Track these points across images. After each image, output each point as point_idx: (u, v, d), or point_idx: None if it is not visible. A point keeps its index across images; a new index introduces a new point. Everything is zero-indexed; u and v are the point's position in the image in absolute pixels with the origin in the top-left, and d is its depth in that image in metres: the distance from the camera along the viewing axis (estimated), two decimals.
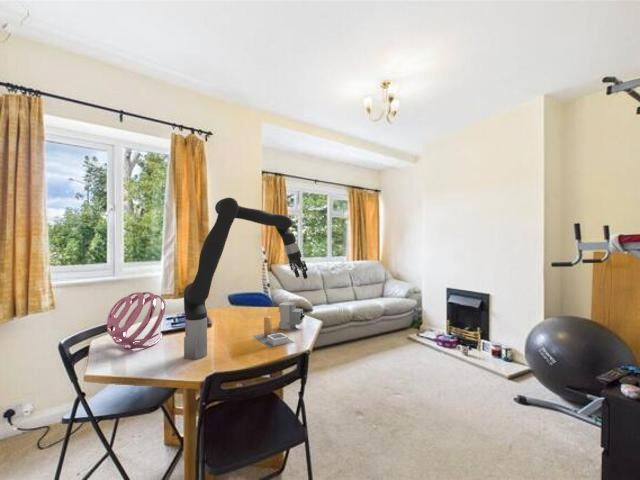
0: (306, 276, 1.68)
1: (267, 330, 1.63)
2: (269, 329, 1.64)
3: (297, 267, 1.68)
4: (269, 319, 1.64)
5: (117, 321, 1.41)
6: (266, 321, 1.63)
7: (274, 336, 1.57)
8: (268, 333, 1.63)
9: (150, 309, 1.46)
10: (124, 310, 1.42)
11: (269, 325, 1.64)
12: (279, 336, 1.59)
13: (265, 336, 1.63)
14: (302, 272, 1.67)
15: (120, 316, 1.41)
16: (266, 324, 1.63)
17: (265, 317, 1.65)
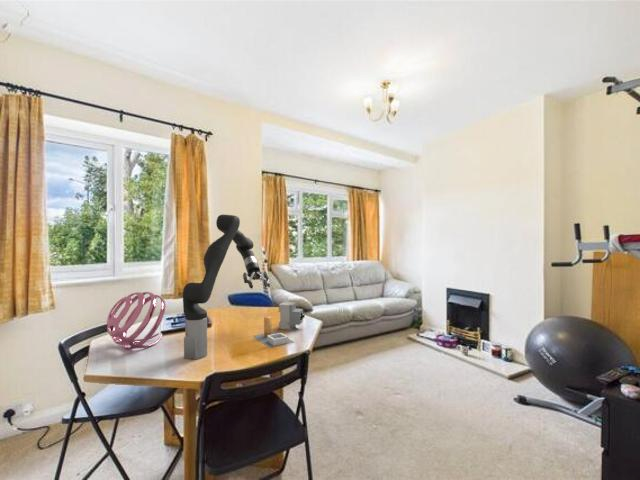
0: (267, 284, 1.78)
1: (267, 330, 1.63)
2: (269, 329, 1.64)
3: (260, 275, 1.79)
4: (269, 319, 1.64)
5: (117, 321, 1.41)
6: (266, 321, 1.63)
7: (274, 336, 1.57)
8: (268, 333, 1.63)
9: (150, 309, 1.46)
10: (124, 310, 1.42)
11: (269, 325, 1.64)
12: (279, 336, 1.59)
13: (265, 336, 1.63)
14: (265, 279, 1.79)
15: (120, 316, 1.41)
16: (266, 324, 1.63)
17: (265, 317, 1.65)
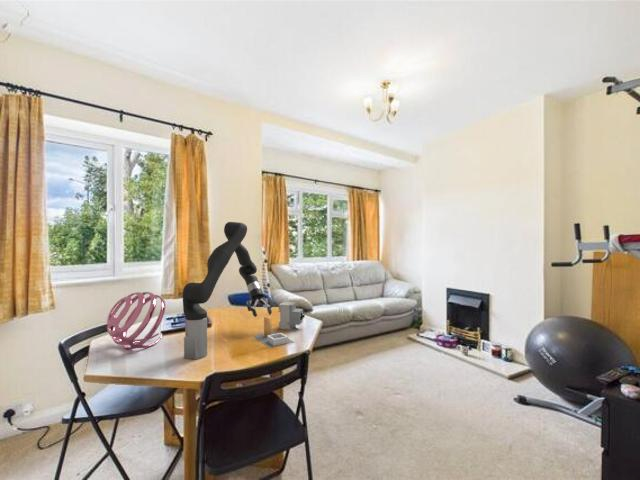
0: None
1: (267, 330, 1.63)
2: (269, 329, 1.64)
3: (264, 302, 1.74)
4: (269, 319, 1.64)
5: (117, 321, 1.41)
6: (266, 321, 1.63)
7: (274, 336, 1.57)
8: (268, 333, 1.63)
9: (150, 309, 1.46)
10: (124, 310, 1.42)
11: (269, 325, 1.64)
12: (279, 336, 1.59)
13: (265, 336, 1.63)
14: (269, 306, 1.74)
15: (120, 316, 1.41)
16: (266, 324, 1.63)
17: (265, 317, 1.65)
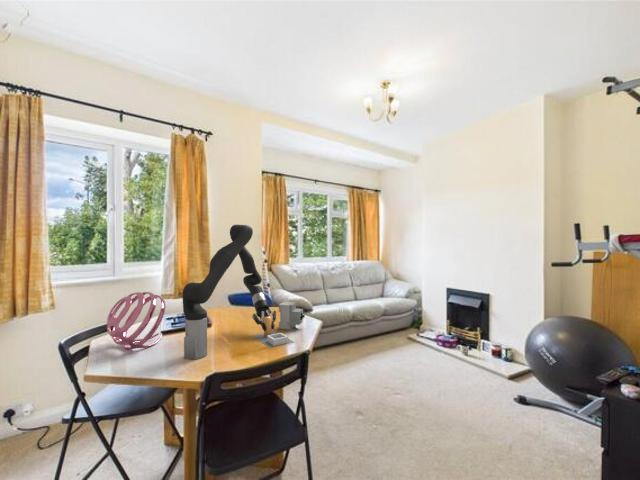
0: (274, 326, 1.66)
1: (267, 330, 1.63)
2: (269, 329, 1.64)
3: (268, 314, 1.68)
4: (269, 319, 1.64)
5: (117, 321, 1.41)
6: (266, 321, 1.63)
7: (274, 336, 1.57)
8: (268, 333, 1.63)
9: (150, 309, 1.46)
10: (124, 310, 1.42)
11: (269, 325, 1.64)
12: (279, 336, 1.59)
13: (265, 336, 1.63)
14: (272, 320, 1.67)
15: (120, 316, 1.41)
16: (266, 324, 1.63)
17: (265, 317, 1.65)
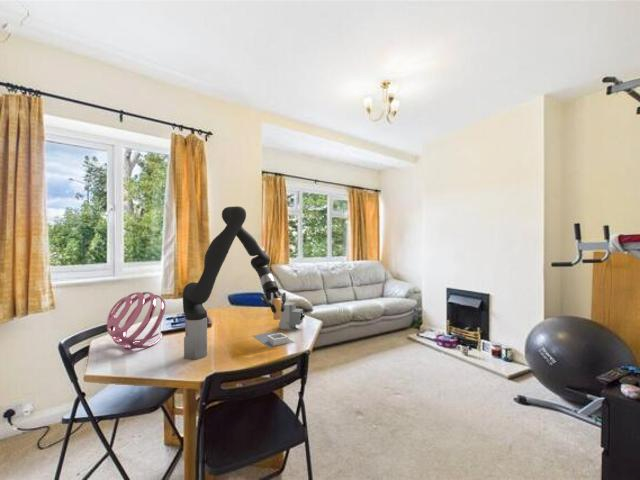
0: None
1: (277, 312, 1.53)
2: (279, 311, 1.54)
3: (277, 296, 1.58)
4: (279, 301, 1.54)
5: (117, 321, 1.41)
6: (276, 303, 1.53)
7: (274, 336, 1.57)
8: (278, 316, 1.53)
9: (150, 309, 1.46)
10: (124, 310, 1.42)
11: (279, 307, 1.54)
12: (279, 336, 1.59)
13: (275, 319, 1.53)
14: (282, 302, 1.57)
15: (120, 316, 1.41)
16: (275, 306, 1.53)
17: (274, 299, 1.55)
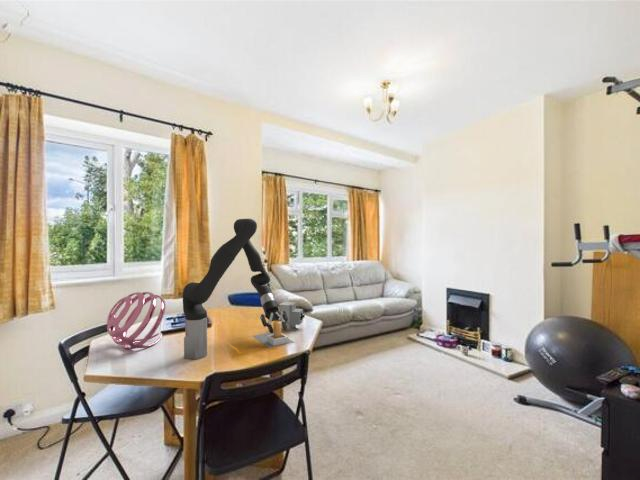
0: None
1: (277, 336, 1.53)
2: (279, 335, 1.54)
3: (278, 316, 1.58)
4: (279, 324, 1.54)
5: (117, 321, 1.41)
6: (276, 326, 1.53)
7: None
8: None
9: (150, 309, 1.46)
10: (124, 310, 1.42)
11: (279, 331, 1.54)
12: None
13: None
14: (284, 321, 1.58)
15: (120, 316, 1.41)
16: (276, 329, 1.53)
17: (275, 322, 1.55)
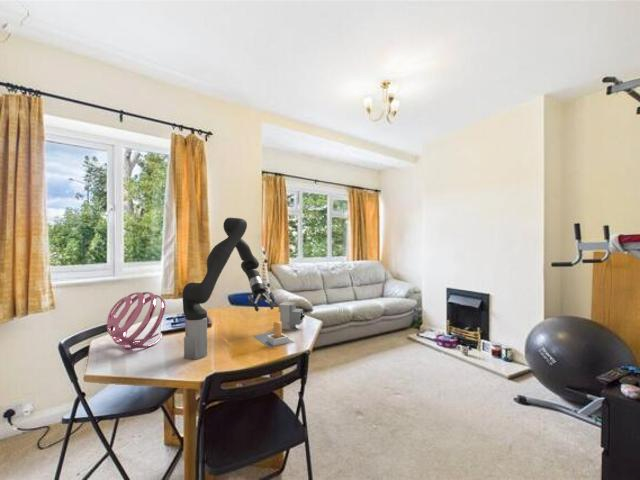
0: None
1: (277, 336, 1.53)
2: (279, 335, 1.54)
3: (266, 296, 1.73)
4: (279, 324, 1.54)
5: (117, 321, 1.41)
6: (276, 326, 1.53)
7: None
8: None
9: (150, 309, 1.46)
10: (124, 310, 1.42)
11: (279, 330, 1.54)
12: None
13: None
14: (271, 301, 1.73)
15: (120, 316, 1.41)
16: (276, 329, 1.53)
17: (275, 322, 1.55)
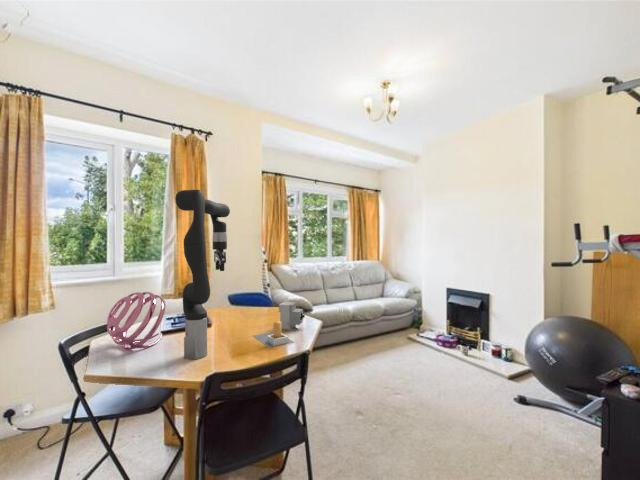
0: (222, 268, 1.64)
1: (277, 336, 1.53)
2: (279, 335, 1.54)
3: (217, 257, 1.66)
4: (279, 324, 1.54)
5: (117, 321, 1.41)
6: (276, 326, 1.54)
7: None
8: None
9: (150, 309, 1.46)
10: (124, 310, 1.42)
11: (279, 330, 1.54)
12: None
13: None
14: (220, 263, 1.64)
15: (120, 316, 1.41)
16: (276, 329, 1.53)
17: (275, 322, 1.55)
